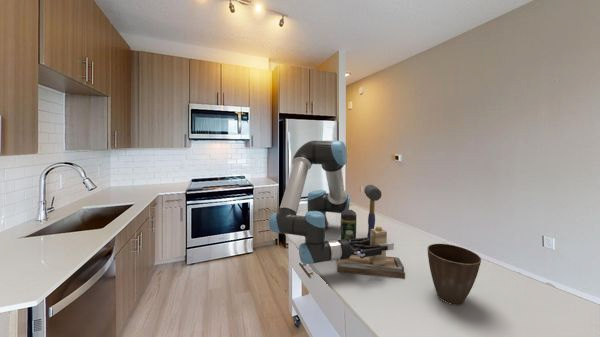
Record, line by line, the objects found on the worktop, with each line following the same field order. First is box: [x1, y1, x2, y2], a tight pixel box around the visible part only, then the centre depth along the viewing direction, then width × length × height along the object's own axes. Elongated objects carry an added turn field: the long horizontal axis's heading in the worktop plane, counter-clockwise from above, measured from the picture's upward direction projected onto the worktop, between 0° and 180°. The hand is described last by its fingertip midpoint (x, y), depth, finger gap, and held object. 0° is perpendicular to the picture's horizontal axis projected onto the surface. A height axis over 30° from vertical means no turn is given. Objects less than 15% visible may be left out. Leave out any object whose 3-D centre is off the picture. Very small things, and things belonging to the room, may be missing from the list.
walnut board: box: [337, 255, 406, 279], centre depth 97 cm, size 13×26×4 cm, turn 80°
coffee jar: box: [340, 209, 357, 240], centre depth 117 cm, size 10×8×19 cm
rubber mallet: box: [363, 184, 382, 239], centre depth 126 cm, size 12×8×30 cm, turn 175°
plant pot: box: [427, 243, 482, 306], centre depth 77 cm, size 15×15×16 cm
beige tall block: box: [370, 226, 388, 265], centre depth 94 cm, size 4×5×15 cm
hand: (389, 243), depth 96 cm, fingers closed on beige tall block, 4 cm apart
